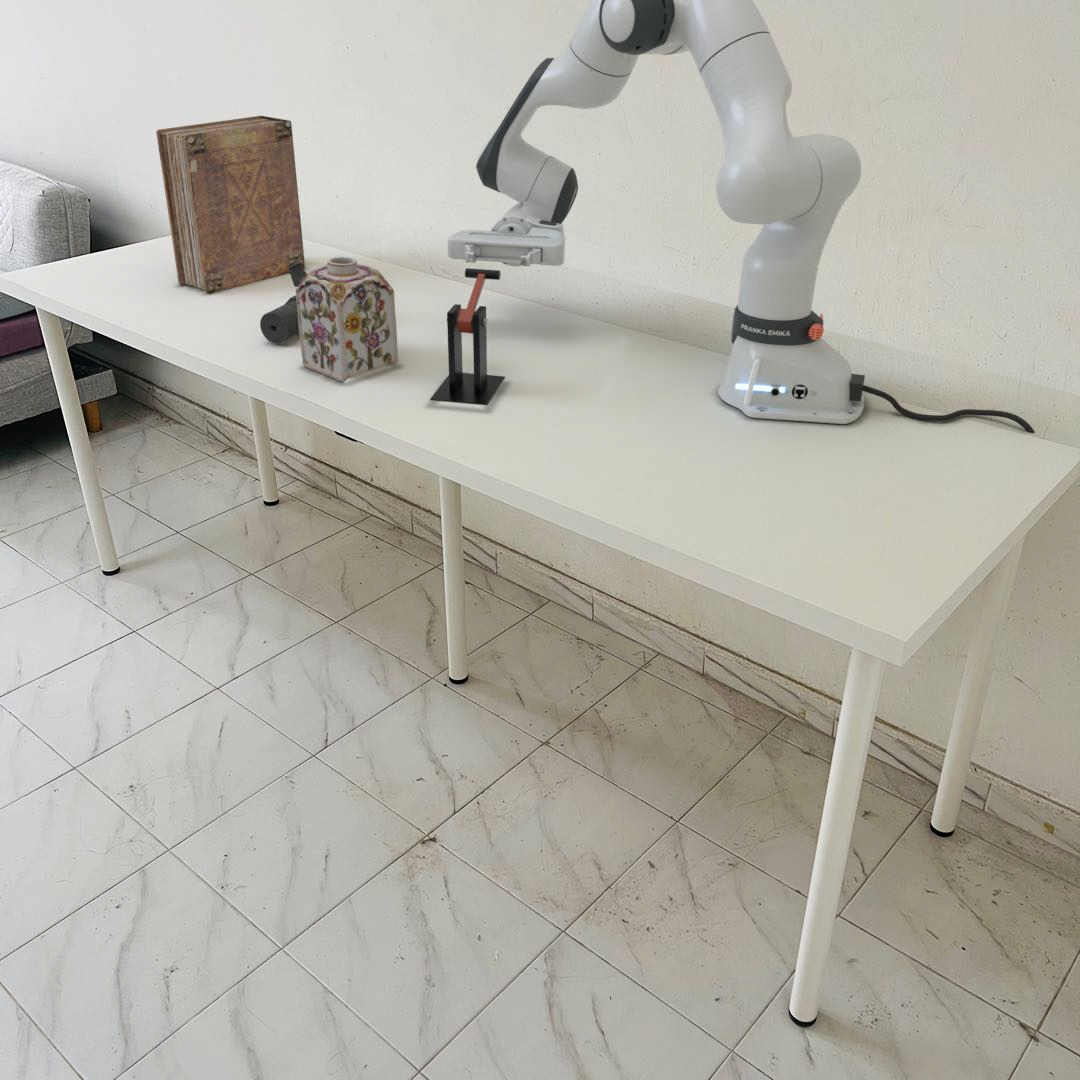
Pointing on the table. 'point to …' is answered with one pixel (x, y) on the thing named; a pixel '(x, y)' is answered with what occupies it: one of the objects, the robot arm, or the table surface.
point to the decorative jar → (346, 319)
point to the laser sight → (284, 313)
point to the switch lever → (474, 297)
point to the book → (231, 201)
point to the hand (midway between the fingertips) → (497, 259)
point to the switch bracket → (458, 383)
